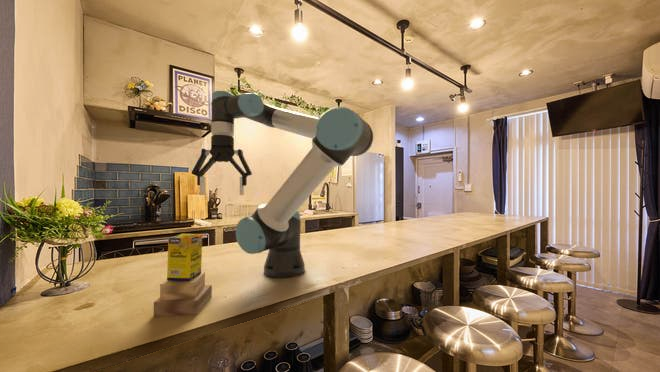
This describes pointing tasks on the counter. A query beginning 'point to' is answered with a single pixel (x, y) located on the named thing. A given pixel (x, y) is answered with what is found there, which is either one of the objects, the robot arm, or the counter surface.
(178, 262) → the supplement box
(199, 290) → the oak block
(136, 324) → the counter surface
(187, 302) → the walnut base block
